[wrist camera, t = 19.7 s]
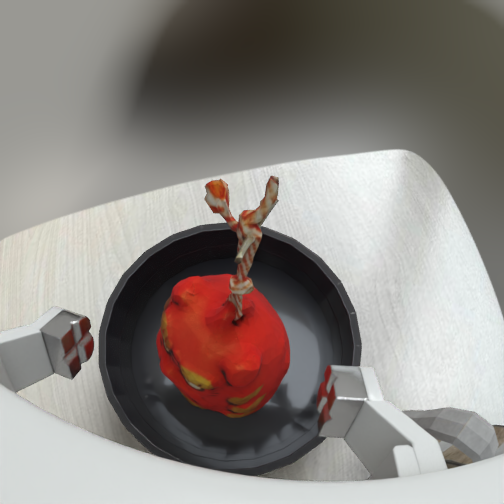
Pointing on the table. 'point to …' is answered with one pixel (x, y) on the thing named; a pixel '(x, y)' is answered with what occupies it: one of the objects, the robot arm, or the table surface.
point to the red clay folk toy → (226, 325)
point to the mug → (461, 434)
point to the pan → (204, 420)
